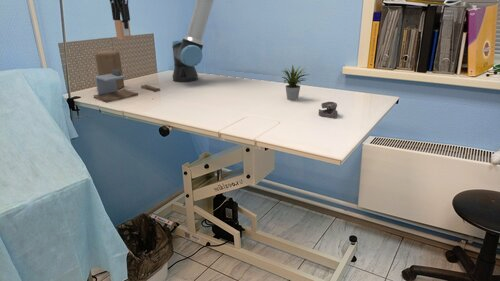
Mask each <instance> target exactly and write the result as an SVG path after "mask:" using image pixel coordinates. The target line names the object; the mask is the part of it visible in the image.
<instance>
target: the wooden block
mask: <svg viewBox="0 0 500 281" xmlns="http://www.w3.org/2000/svg"><path fill="white" fill-rule="evenodd" d="M94 56H95V57H94V58H95V62H96V67H97V69H96V70H97V73H98V75H97V76H100V75H106V74H112V70H113V69H115V70H119V71H120V73H121V75H122V76H124V74H123V69H122V68H123V67H122V61H121V54H120V51H119V50H102V51H99V52H96V53H95V55H94ZM116 84H117V90H121V89H123V88H124V87H125V81H124V78H122V79H117V80H116Z"/></svg>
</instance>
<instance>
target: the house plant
mask: <svg viewBox="0 0 500 281" xmlns="http://www.w3.org/2000/svg"><path fill="white" fill-rule="evenodd" d="M300 68H301V66H299V67H298V68H297V69H296V70H295V67H294V64H292V65H291V71H290V70H288V69H287V68H284V70H281V72H283V74H284V76H281V78H282V79H284V80H283V84H286V83H287V84H286V85H285V93H286V94H285V95H286V99H287V100H288V101H298V100H299V96H300V91H301V85H299V84H301V82H303V81H306V82H307V78H305V77H304V76H309V75H310V74H306V73H307V71H305V69H306V68H302V69H301V70H300V71H299V69H300ZM304 73H305V74H304ZM285 76H286V77H285ZM303 77H304V78H303Z"/></svg>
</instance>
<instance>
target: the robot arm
mask: <svg viewBox="0 0 500 281" xmlns="http://www.w3.org/2000/svg"><path fill="white" fill-rule="evenodd" d="M214 1H215V0H196V2H195V5H194V9H193V12H192V16H191V19H190V23H189V26H188V31H187V33H186V36H184V37H183V38H182V39H180V40H179V39H178V40H174V41H172V46H171V48H172V54H173V55H172V56H173V65H174V68H173V73H172V81H174V82H178V83H179V82H180V83H182V82H184V83H185V82H186V83H187V82H193V81H196V80H199V74H198V72H197V70H196V67H195V66H198V65H199V64H200V63H201V61H202V60H203V55H204V54H203V48H204V43H203V41H202V40H203V38H204V34H205V31H206V27H207V24H208V21H209V19H210V18H209V17H210V14H211V12H212V7H213V4H214ZM109 2H110V3H109V4H110V8H111V16H112V21H114V20H123V21H121V22H122V26H123V33H124V36H128V35H129V29H128V21H131V16H130V7H129V0H109Z"/></svg>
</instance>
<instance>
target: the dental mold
mask: <svg viewBox="0 0 500 281" xmlns="http://www.w3.org/2000/svg"><path fill="white" fill-rule="evenodd" d="M320 107H321V109H318V114H317V115H318V116H319V117H321V118H327V119H337V118H338V113H339V112H338V110H337V107H338V104H337V103H336V102H333V101H326V102H322V103H321V106H320Z"/></svg>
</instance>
